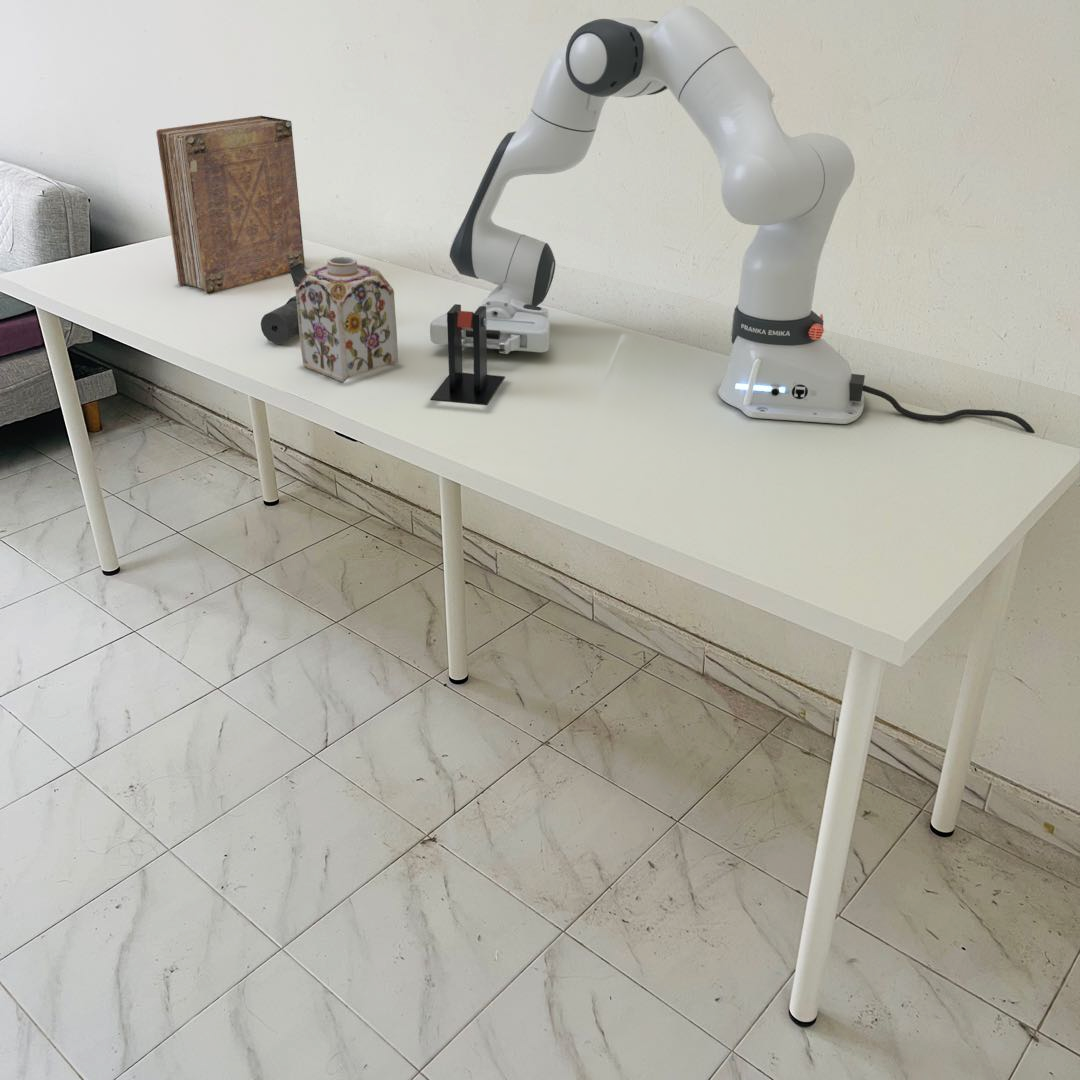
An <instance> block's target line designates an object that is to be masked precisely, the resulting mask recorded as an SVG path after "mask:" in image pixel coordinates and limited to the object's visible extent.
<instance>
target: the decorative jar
mask: <svg viewBox="0 0 1080 1080" xmlns="http://www.w3.org/2000/svg"><path fill="white" fill-rule="evenodd" d="M326 264H327V265H324V266H320V267H317V268H314V269H311V270H310V271H309V273H308V272H307V276H306V277H305V278H304V279H303V280H302V282H301V283H300V284H299V286H298V287H296V289H295V296H296V300H297V311H298V323H299V334H298V335H299V343H300V349H301V350H300V352H301V359H302V365H303V367H304V368H307V369H309V370H311V371H313V372H316V373H319V374H320V375H323V376H325V377H329V378H331V379H333V380H336V381H338V382H341V383H345V382H346V381H347V380H348V379H349V378H350V377H353V376H356V375H359V374H362V373H365V372H369V371H372V370H374V369H379V368H382V367H383V366H386V365H390V364H394V363H398V362H399V354H398V353H399V352H398V351H399V350H398V333H397V332H398V331H397V316H396V304H395V303H396V302H395V301H396V300H395V290H394V288H393V286H392V285H390V283H389V281H387V280H386V278H385V276H383V274H382V273H381V271H380V270H378V269H376V268H374V267H371V266H367V265H365V264H358V261H357V259H356V258H354V257H349V256H335V257H332V258H329V259H327V263H326Z"/></svg>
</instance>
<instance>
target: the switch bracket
mask: <svg viewBox="0 0 1080 1080" xmlns="http://www.w3.org/2000/svg"><path fill="white" fill-rule="evenodd" d="M479 306H480V305H479ZM479 306H478V307H479ZM478 307H477V308H476V310H475V311H474V312H473V313H474V314H473V347H472V348H473V349H472V351H473V373H471V372H464V371H463V350H462V330H461V329H460V328H458V327H457V322H458V313H459V311H462V305H461V304H460V303H459V304H457V303H455V304H453V305H452V307H450V309H449V310H448V311H447V312H446V314H447V327H448V345H447V354H448V357H447V358H448V359H447V360H448V375H447V377H445V379H444V380H443V382H442V383H441V384H440V386H439V387H438V388H437V390H436V391H435V392H434V393H433V395H432V396H431V397H430V399H429V400H430V401H436V402H446V403H448V402H449V403H457V404H469V405H480V406H488V404H489V403H490V402H491V400H492V398H493V397H494V395H495V394H496V392H497V391H498V389H499V388H500V386H501V384H502V383H503V381H504V380H505V378H506V376H505V375H493V374H488V348H487V336H486V326H487V318H486V306H480V307H479V308H478Z"/></svg>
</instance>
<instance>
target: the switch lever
mask: <svg viewBox="0 0 1080 1080" xmlns="http://www.w3.org/2000/svg"><path fill="white" fill-rule="evenodd" d="M474 313H475V312H473V311H465V310H461V311H459V313H458V322H457V327H458V328H460V329H461V330H466V337H471V338H473V314H474ZM486 336H487V339H496V340H499V339H500V331H496V330H486Z"/></svg>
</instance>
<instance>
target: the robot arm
mask: <svg viewBox="0 0 1080 1080" xmlns="http://www.w3.org/2000/svg"><path fill="white" fill-rule="evenodd" d="M666 90H669V92H670V93H671V94H672V95H673V97H674V98H675V100H677V102H678V103H679V105H680V106H681V107H682V108H683V109H684V111H685V112H686V114H687V115H688V117H689V118H690V119H691V120H692V122H693V123H694V124H695V125H696V127H697V128H698V129H699V131H700V132H701V134H702V135H703V136H704V138H705V139H706V141H707V142H708V143H709V145H710V147H711V149H712V151H713V153H714V155H715V158H716V160H717V163H718V165H719V168H720V172H721V174H722V178H721V183H720V193H721V194H720V195H721V199H722V203H723V206H724V207H725V209H726V210H727V212H728V213H729V215H730V216H731V217H732V218H733V219H735V220H736V221H737V222H739V223H741V224H744V225H750V226H758V228H757V230H756V233H755V235H754V237H753V239H752V241H751V242H750V245H749V246H748V247H747V249H746V250H745V252H744V254H743V258H742V261H741V270H740V281H739V291H738V300H737V305H736V307H734V311H733V314H732V322H731V332H730V336H731V349H730V354H729V358H728V362H727V366H726V369H725V373H724V376H723V379H722V382H721V384H720V387H719V388H718V390H717V391H718V392H717V393H718V396H719V398H720V399H721V400H722V401H724V402H725V403H726V404H728V405H730V406H732V407H734V408H736V409H739V410H740V411H741V412H742V413H743V414H744V415H745V416H747V417H749V418H751V419H753V418H754V419H765V420H778V421H793V422H794V421H795V422H809V423H821V424H823V423H824V424H839V425H847V424H850V423H853V422H854V421H856V420H858V419H859V418H860V417H861V416H862V414H863V412H864V409H865V408H864V407H865V397H864V394H863V392H865V393H868V394H871V395H874V396H877V397H879V398H881V399H884V400H886V401H887V402H889V403H890V404H891V405H892V407H893V408H894V409H895V410H896V411H897V412H898V413H900V414H901V415H904V416H906V417H909V418H912V419H914V420H918V421H919V420H920V421H929V422H946V421H951V420H954V419H956V418H959V417H963V416H980V417H981V416H983V417H998V418H999V417H1000V418H1004V419H1009V420H1011V421H1013V422H1015V423H1017V424H1018V425H1019V426H1021V427H1022V428H1023V429H1024V430H1025V431H1026V432H1027V433H1029V434H1035V430H1034V428H1033V427H1032V426H1031V425H1030V423H1028V422H1027V421H1026V420H1025V419H1024V418H1022V417H1020V416H1018V415H1017V414H1014V413H1013V412H1007V411H1003V410H996V409H995V410H994V409H975V408H973V409H972V408H968V409H967V408H966V409H965V408H964V409H959V410H955V411H954V412H950V413H948V414H923V413H917V412H914V411H911V410H908V409H906V408H904V407H903V406H901V404H900V403H899V402H898V401H897V399H895V398H894V396H891V394H889V393H887V392H885V391H882V390H880V389H877V388H874V387H872V386H868V385H866V384H865V378H866V375H865V374H856V373H852V370H851V366H850V363H849V361H848V360H847V359H846V358H845V357H844V356H843V355H842V354H840V353H839V352H838V351H837V350H836V349H835V348H833V346H832V345H830V344H829V343H828V342H827V341H826V340H825V339H824V338H823V334H824V332H825V331H824V330H825V329H824V315H823V313H820V315H818V314H817V313H816V312H814V311H813V300H814V295H815V294H814V293H815V288H816V281H817V274H818V267H819V263H820V258H821V256H822V252H823V249H824V246H825V243H826V240H827V238H828V235H829V233H830V229H831V226H832V224H833V221H834V218H835V215H836V214H837V213H836V212H837V210H838V207H839V205H840V202H841V201H842V199H843V197H844V195H845V193H847V191H848V189H849V188H850V186H851V184H852V182H853V180H854V177H855V171H856V170H855V169H856V165H855V158H854V155H853V153H852V150H851V149H850V147H849V146H848V144H846V142H845V141H843V140H841V139H840V138H839V137H836V136H833V135H829V134H823V133H818V132H817V133H815V132H810V133H809V132H808V133H804V134H799V135H796V136H790V135H788V134H787V133H786V132H785V131H784V130H783V128H782V127H781V125H780V123H779V121H778V119H777V116H776V114H775V111H774V109H773V105H772V104H773V97H774V96H773V91H772V89H771V87H770V85H769V84H768V83H767V81H766V80H765V79H764V77H762V75H761V74H760V73H759V71H758V70H757V69H756V68H755V66H754V65H753V64H752V62H751V61H750V60H749V58H748V57H747V56H746V55H745V53H744V52H743V51H742V50H741V49H740V47H739V46H738V44H736V43H735V42H734V40H733V39H732V38H731V37H730V36H729V35H728V34H727V33H726V31H724V30H723V29H722V28H721V27H720V26H719V24H718V23H716V22H715V21H714V20H713V19H712V18H711V17H709V16H708V15H707V14H706V13H705V12H703V11H701V9H700V8H697V7H695V6H692V5H680V6H678V7H675V8H673V9H671V10H669V11H668V12H667V13H665V14H664V15H663V16H662V17H661V18H660V19H659V20H644V19H640V18H639V19H637V18H633V17H618V18H617V17H616V18H597V19H594V20H592V21H589V22H586V23H585V24H582V25H581V26H579V27H578V28H577V29H576V30H575V31H574V32H573V33H572V35H571V37H570V38H569V40H568V43H567V44H564V45H561V46H560V47H557V48H556V49H555V50H554V51H553V53H552V54H551V55H550V57H549V59H548V62H547V63H546V66H545V68H544V70H543V72H542V75H541V77H540V80H539V82H538V84H537V88H536V90H535V94H534V97H533V100H532V103H531V108H530V111H529V114H528V116H527V118H526V120H525V122H524V123H523V124H522V125H521V127H520V128H519V129H517V131H511V132H507V134H506V135H504V137H503V138H502V139H501V141H500V142H499V144H498V146H497V148H496V150H495V151H494V153H493V155H492V157H491V160H490V161H489V164H488V166H487V168H486V170H485V171H484V174H483V177H482V179H481V181H480V183H479V185H478V188H477V190H476V192H475V194H474V196H473V199H472V200H471V203H470V205H469V208H468V210H467V212H466V214H465V217H464V219H463V220H462V222H461V224H459V227H458V228H457V229H456V231H455V233H454V234H453V237H452V240H451V243H450V247H449V259H450V260H451V262H452V264H453V266H454V268H455V269H456V271H457V272H458V273H459V275H462V276H466V277H470V278H474V279H476V280H483V281H486V282H488V283H491V284H494V285H497V286H496V287H495V288H494V289H493V290H492V291H491V292H490V293H489V294H488V295H487V297H486V298H485V299H484V300H483V302H481V304H480V305H479V306H478V307H477V309H478V308H479V307H480V306H486V318H487V326H486V330H496V331H500V339H499V340H496V339H487V349H494V350H498V352H499V354H507V355H508V354H509V353H510V352H513V351H519V352H532V353H547V352H548V351H549V349H550V339H551V338H550V337H551V321H550V318H549V311H548V309H547V308H545V307H541V306H539V305H540V304H542V303H543V302H544V301H545V299H546V297H547V295H548V293H549V291H550V288H551V286H552V282H553V279H554V276H555V272H556V271H555V270H556V259H555V256H554V255H555V254H554V253H553V250H552V248H551V246H550V244H549V243H548V242H545V241H543V240H541V239H538V238H535V237H532V236H529V235H526V234H524V233H523V234H522V233H519V232H517V231H513V230H511V229H508V228H505V227H502V226H500V225H498V224H496V223H494V221H493V220H492V216H493V214H494V212H495V210H496V208H497V205H498V204H499V201H500V199H501V197H502V195H503V193H504V190H505V188H506V186H507V184H508V183H509V181H511V180H512V179H514V178H517V177H521V176H522V177H523V176H530V175H552V174H553V175H554V174H558V173H562V172H566V171H568V170H571V169H572V168H575V167H576V166H578V165H580V163H581V162H582V161H584V159H585V158H586V156H587V154H588V152H589V150H590V147H591V145H592V142H593V140H594V136H595V134H596V131H597V127H598V124H599V119H600V116H601V113H602V110H603V108H604V105H605V103H606V101H607V100H608V99H609V98H610V97H614V98H627V99H629V98H636V97H642V96H652V95H657V94H660V93H662V92H664V91H666ZM429 324H430V325H429V337H430V341H431V342H432V344H435V345H445V346H448V327H447V313H443V314H441V315H439V316H437V317H436V318H434V319H433V320H432V321H431V322H430V323H429ZM466 347H467V348H468V347H470V348H471V347H472V348H473V338H471V337H466V330H462V351H464V350H465V349H466Z"/></svg>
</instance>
